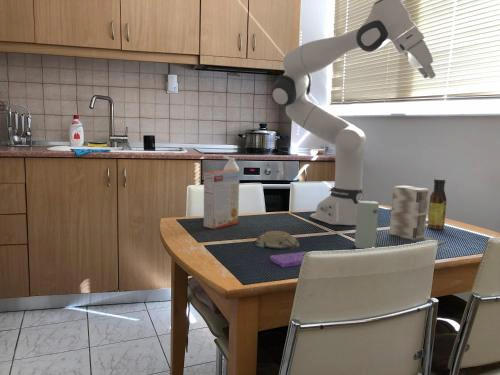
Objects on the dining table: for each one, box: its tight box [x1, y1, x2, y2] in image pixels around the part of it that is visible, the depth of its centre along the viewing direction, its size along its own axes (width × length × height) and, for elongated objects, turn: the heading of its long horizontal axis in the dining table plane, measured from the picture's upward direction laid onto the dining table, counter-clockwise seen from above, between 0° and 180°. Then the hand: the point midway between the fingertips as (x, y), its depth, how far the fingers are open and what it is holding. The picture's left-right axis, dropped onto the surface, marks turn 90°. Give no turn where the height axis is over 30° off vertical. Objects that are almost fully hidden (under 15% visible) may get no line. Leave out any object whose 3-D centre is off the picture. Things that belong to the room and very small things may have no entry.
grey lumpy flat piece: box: [254, 230, 300, 251], centre depth 142 cm, size 15×4×15 cm
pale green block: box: [354, 200, 380, 249], centre depth 140 cm, size 5×6×15 cm
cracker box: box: [203, 169, 240, 230], centre depth 162 cm, size 14×6×21 cm, turn 141°
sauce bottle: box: [427, 178, 448, 231], centre depth 171 cm, size 7×6×20 cm
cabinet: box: [389, 184, 447, 246], centre depth 153 cm, size 18×10×18 cm, turn 40°
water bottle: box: [222, 155, 240, 172], centre depth 178 cm, size 9×6×25 cm
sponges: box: [269, 251, 307, 268], centre depth 124 cm, size 7×13×2 cm, turn 118°
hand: (430, 77), depth 141 cm, fingers open, 8 cm apart
